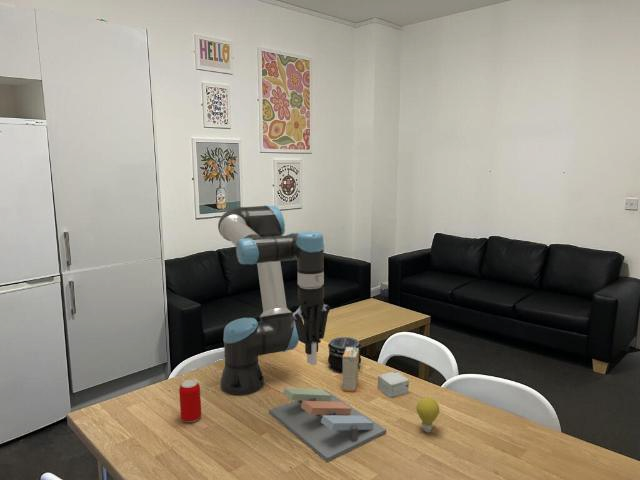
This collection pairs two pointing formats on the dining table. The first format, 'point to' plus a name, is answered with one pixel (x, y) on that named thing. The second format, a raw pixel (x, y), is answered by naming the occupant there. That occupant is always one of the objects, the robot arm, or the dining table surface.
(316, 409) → the rocker terracotta
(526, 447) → the dining table surface
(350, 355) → the supplement box
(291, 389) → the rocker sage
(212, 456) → the dining table surface
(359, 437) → the board
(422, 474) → the dining table surface
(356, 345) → the container
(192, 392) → the beverage can
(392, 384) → the small box
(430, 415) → the light bulb
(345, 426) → the rocker blue
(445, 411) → the dining table surface
